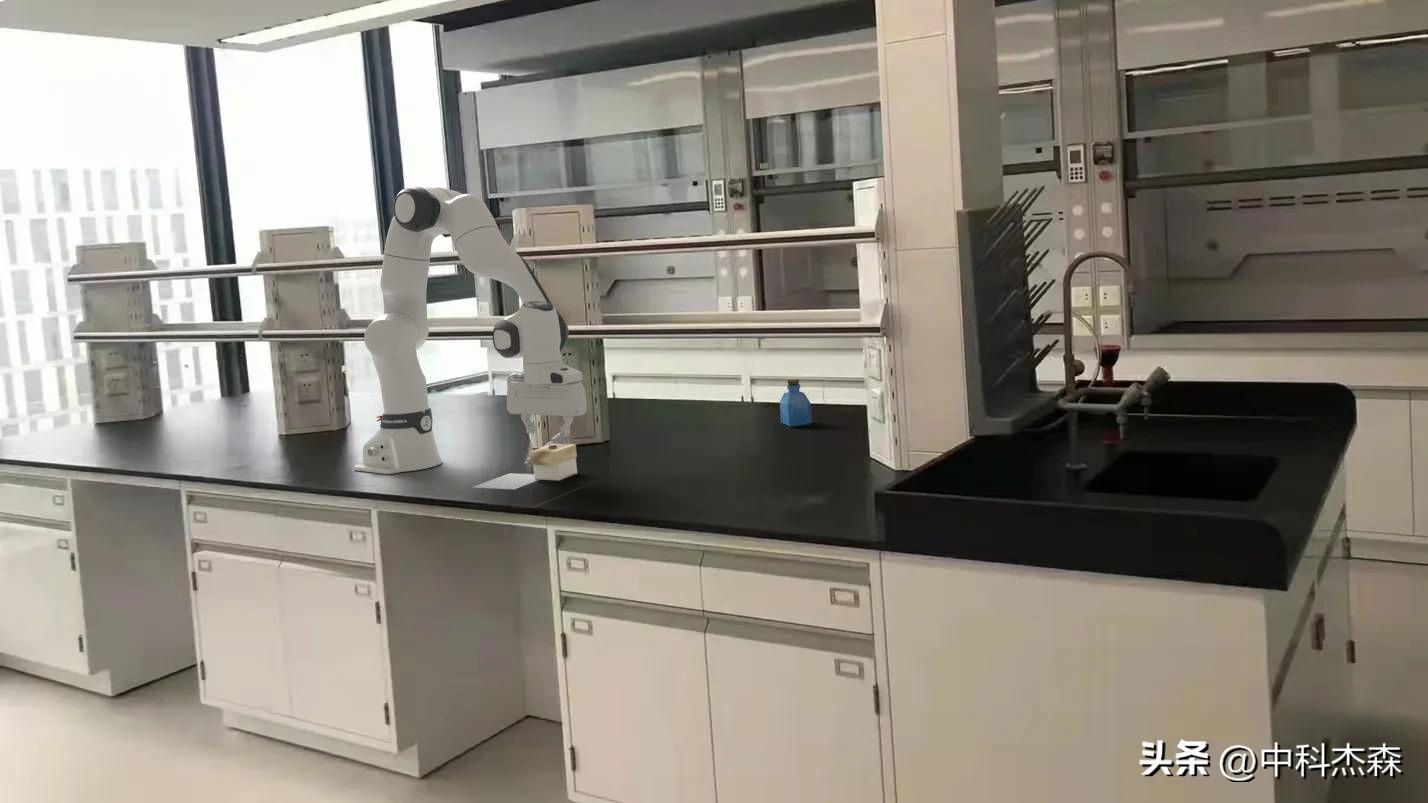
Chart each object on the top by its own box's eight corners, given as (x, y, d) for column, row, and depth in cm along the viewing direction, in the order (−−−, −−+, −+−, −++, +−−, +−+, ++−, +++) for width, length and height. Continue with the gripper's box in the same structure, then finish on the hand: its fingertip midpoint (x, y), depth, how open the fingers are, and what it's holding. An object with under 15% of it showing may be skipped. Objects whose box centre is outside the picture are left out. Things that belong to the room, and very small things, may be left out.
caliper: (566, 448, 311) (564, 424, 310) (570, 448, 310) (568, 424, 309) (523, 466, 292) (520, 440, 291) (527, 466, 292) (524, 440, 291)
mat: (471, 489, 269) (471, 487, 269) (509, 475, 281) (509, 473, 281) (514, 491, 264) (514, 489, 263) (551, 476, 276) (551, 474, 276)
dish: (534, 480, 272) (532, 463, 272) (552, 473, 279) (550, 457, 278) (559, 481, 269) (558, 464, 269) (577, 474, 275) (575, 457, 275)
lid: (530, 464, 271) (529, 449, 270) (553, 456, 279) (552, 441, 278) (554, 465, 268) (552, 449, 267) (576, 457, 276) (575, 441, 275)
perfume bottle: (781, 425, 319) (778, 380, 317) (802, 422, 321) (799, 377, 319) (789, 428, 313) (786, 382, 311) (811, 425, 315) (808, 380, 313)
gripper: (498, 375, 272) (503, 434, 274) (572, 376, 262) (576, 438, 265) (515, 371, 278) (520, 429, 280) (588, 372, 268) (592, 433, 270)
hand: (548, 434), depth 272 cm, fingers open, 8 cm apart
